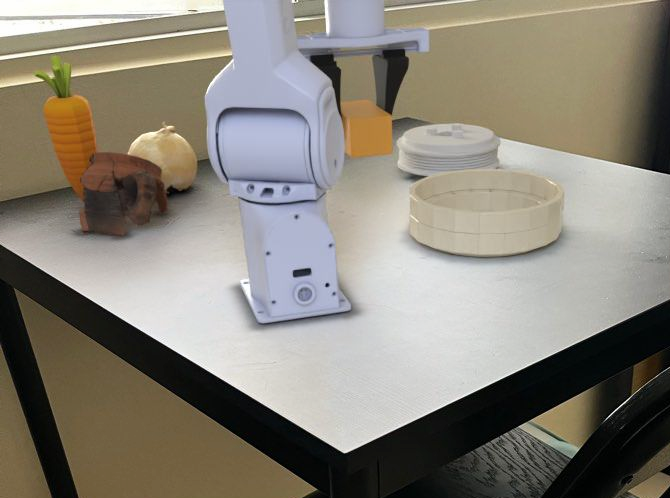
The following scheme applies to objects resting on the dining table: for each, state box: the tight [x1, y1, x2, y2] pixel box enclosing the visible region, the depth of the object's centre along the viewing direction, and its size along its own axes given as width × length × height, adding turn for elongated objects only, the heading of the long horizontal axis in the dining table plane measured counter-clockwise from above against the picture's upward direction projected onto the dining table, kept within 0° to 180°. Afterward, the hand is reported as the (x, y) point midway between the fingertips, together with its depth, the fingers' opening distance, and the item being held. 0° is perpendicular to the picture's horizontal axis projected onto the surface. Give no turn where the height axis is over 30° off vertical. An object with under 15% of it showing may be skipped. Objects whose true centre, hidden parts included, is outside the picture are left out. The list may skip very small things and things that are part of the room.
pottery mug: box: [78, 151, 169, 236], centre depth 92 cm, size 12×10×8 cm
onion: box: [127, 121, 198, 196], centre depth 102 cm, size 8×8×7 cm
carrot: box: [34, 55, 99, 203], centre depth 95 cm, size 5×5×15 cm
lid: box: [396, 122, 501, 177], centre depth 107 cm, size 13×13×5 cm
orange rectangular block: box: [340, 99, 394, 159], centre depth 90 cm, size 8×4×4 cm, turn 18°
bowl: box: [408, 168, 566, 258], centre depth 87 cm, size 15×15×4 cm
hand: (360, 135), depth 90 cm, fingers closed on orange rectangular block, 4 cm apart
